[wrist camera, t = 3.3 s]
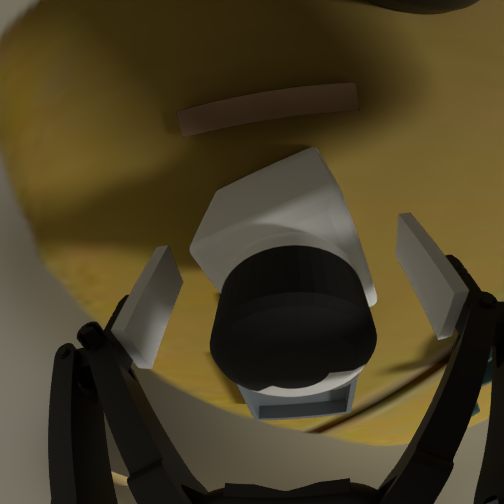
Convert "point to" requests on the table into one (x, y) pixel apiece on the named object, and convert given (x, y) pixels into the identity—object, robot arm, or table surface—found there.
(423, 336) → the table surface
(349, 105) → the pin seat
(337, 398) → the tray
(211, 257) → the medicine bottle
